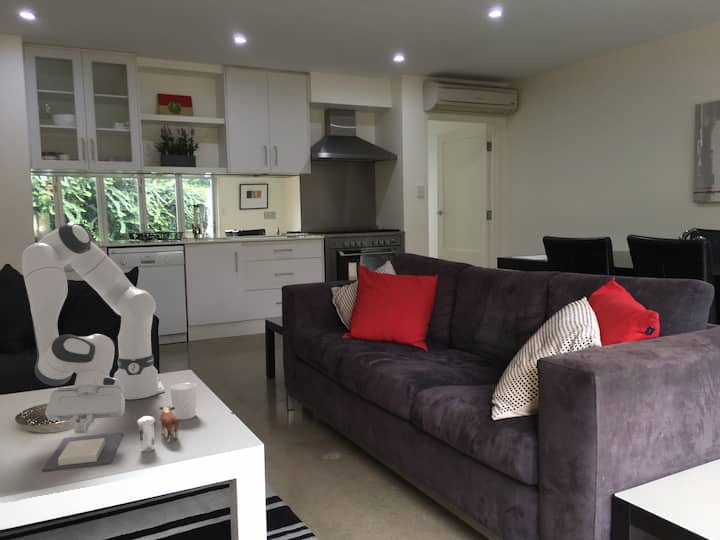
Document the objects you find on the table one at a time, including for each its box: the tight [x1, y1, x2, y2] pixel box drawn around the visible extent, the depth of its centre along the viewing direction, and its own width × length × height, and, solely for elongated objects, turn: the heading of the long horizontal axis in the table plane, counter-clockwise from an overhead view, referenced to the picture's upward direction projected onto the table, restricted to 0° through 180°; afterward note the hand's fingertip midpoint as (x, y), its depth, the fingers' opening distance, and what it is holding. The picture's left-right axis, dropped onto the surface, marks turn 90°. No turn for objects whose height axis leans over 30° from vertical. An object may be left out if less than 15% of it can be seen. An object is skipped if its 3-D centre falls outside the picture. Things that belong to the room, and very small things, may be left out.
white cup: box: [170, 382, 197, 421], centre depth 186 cm, size 8×8×10 cm
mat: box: [42, 431, 124, 472], centre depth 159 cm, size 22×16×1 cm
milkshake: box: [134, 415, 156, 453], centre depth 158 cm, size 5×5×10 cm
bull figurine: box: [159, 403, 180, 444], centre depth 168 cm, size 4×13×8 cm, turn 25°
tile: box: [58, 438, 105, 466], centre depth 155 cm, size 2×9×12 cm
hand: (80, 432), depth 157 cm, fingers closed
